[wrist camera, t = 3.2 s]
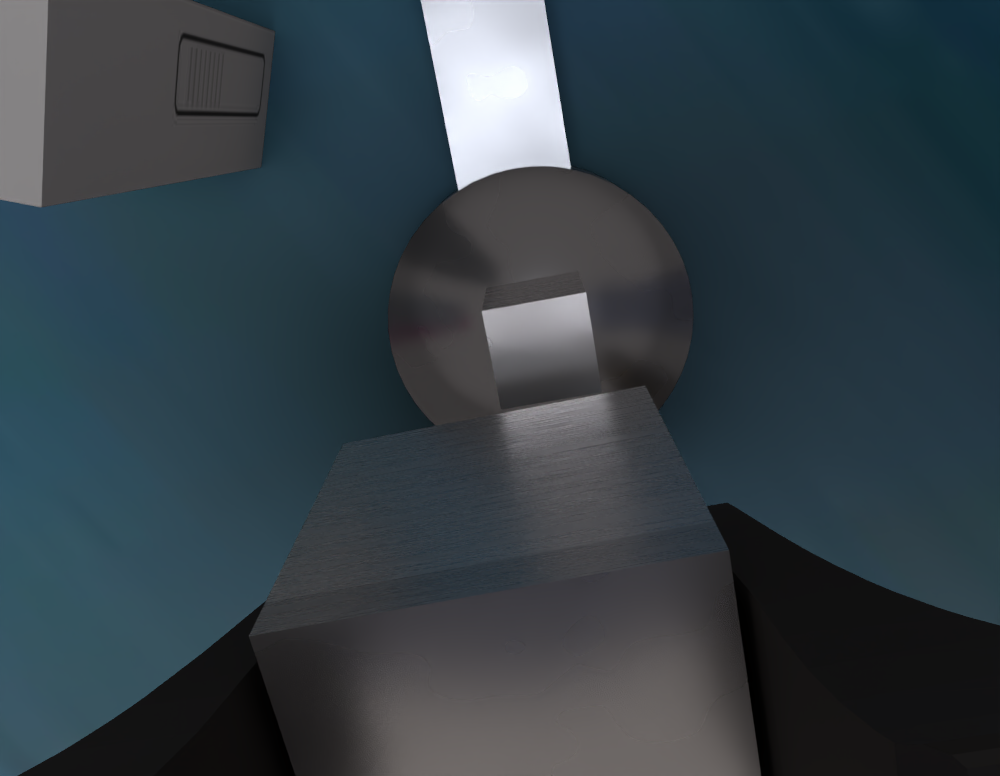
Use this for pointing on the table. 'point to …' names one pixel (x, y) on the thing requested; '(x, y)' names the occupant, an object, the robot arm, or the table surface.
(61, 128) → the cassette player
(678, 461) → the brushed metal cube
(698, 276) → the table surface
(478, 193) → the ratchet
